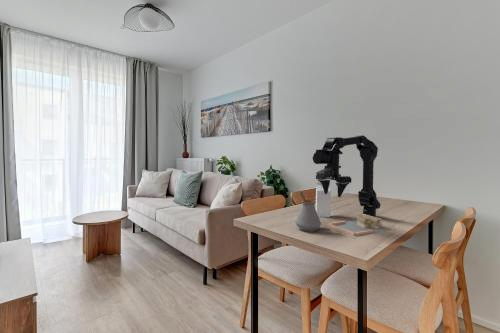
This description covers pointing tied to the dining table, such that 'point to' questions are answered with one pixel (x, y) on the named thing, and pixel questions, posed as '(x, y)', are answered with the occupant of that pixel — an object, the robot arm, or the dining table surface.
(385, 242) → the dining table surface
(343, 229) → the board
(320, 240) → the dining table surface
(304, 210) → the coffee pot
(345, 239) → the dining table surface
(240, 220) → the dining table surface
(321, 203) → the milk carton
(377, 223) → the t block
